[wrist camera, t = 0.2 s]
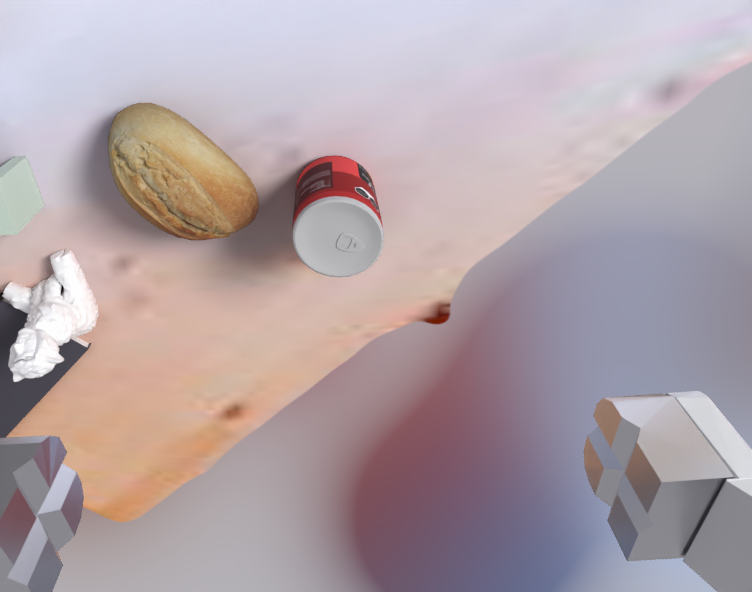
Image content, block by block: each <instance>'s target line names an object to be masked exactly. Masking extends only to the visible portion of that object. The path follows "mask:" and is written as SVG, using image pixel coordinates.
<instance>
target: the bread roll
mask: <svg viewBox="0 0 752 592" xmlns="http://www.w3.org/2000/svg"><path fill="white" fill-rule="evenodd" d="M108 153H109V162H110V167H111V171H112V175H113V178H114V181H115V184H116V186H117V188H118V190H119V191H120V193H121V194H122V196H123V197H124V198H125V200H126V201H127V202H128V203H129V205H130V206H131V207H132V208H133V209H134V210H136V211H137V212H138V213H139V214H140V215H141V216H142V217H143V218H145V219H146V220H147V221H149V222H150V223H151V224H153V225H154V226H156V227H158V228H159V229H161V230H163V231H165V232H167V233H169V234H172V235H174V236H176V237H179V238H184V239H189V240H207V239H213V238H224V237H228V236H229V235H230V234H231V233H234V232H236V231H238V230H240V229H242V228H244V227H246V226H247V225H249V224H250V223H251V222H252V221H253V220H254V219H255V217H256V214H257V212H258V195H257V192H256V189H255V187H254V185H253V183H252V181H251V180H250V178H249V177H248V176H247V175H246V173H245V172H244V171H243V170H242V169H241V168H240V167H239V166H238V165H237V164H236V163H235V162H234V161H233V160H232V159H231V158H230V157H229V156H228V155H227V154H226V153H225V152H224V151H223V150H221V149H220V148H219V147H218V146H216V145H215V144H214V143H213V142H212V141H211V140H210V139H209V138H208V137H207V136H205V135H204V134H203V133H202V132H201V131H199V130H198V129H197V128H196V127H194V126H193V125H192V124H191V123H189V122H188V121H187V120H185V119H184V118H182V117H181V116H179V115H178V114H176V113H174V112H173V111H171V110H169V109H166V108H164V107H161V106H158V105H156V104H153V103H137V104H134V105H131V106H129V107H127V108H125V109H123V110H122V111H120V112H119V113H118V114H117V115H116V116H115V118H114V120H113V123H112V126H111V129H110V133H109V137H108Z"/></svg>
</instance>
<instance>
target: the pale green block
mask: <svg viewBox="0 0 752 592" xmlns="http://www.w3.org/2000/svg"><path fill="white" fill-rule="evenodd" d="M43 207H44V202H43V199H42V197H41V194H40V191H39V188H38V186H37V183H36V180H35V177H34V175H33V172H32V169H31V167H30V164H29V161H28V158H27V156H25V157H13V158H11V159H10V160H9V161H8V162H6V163H5V164H4V165H3V166H1V167H0V235H17V234H18V233H19V232H20V231H21V230H22V229H23V228H24V227H25V225H26V224H27V223H28V222H29V221H30V220H31V219H32V218H33V217H34V216H35V215H36V214H37V213H38V212H39V211H40V210H41V209H42V208H43Z"/></svg>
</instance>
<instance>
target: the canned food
mask: <svg viewBox="0 0 752 592" xmlns="http://www.w3.org/2000/svg"><path fill="white" fill-rule="evenodd" d="M292 238H293V244H294V248H295V250H296V253H297V255H298V256H299V258H300V259H301V260H302V262H303V263H304V264H306V265H307V266H308V267H309V268H311V269H312V270H314V271H315V272H318V273H320V274H323V275H326V276H331V277H348V276H352V275H356V274H358V273H361V272H363V271H365V270H366V269H368V268H369V267H370V266H371V265H372V264H373V263H374V262H375V261H376V260H377V259H378V257H379V255H380V253H381V251H382V248H383V242H384V233H383V226H382V220H381V216H380V211H379V207H378V202H377V198H376V193H375V189H374V185H373V182H372V179H371V177H370V175H369V174H368V172H367V171H366V170H365V169H364V168H363V167H362V166H361V165H359V164H358V163H357V162H355V161H353V160H351V159H349V158H346V157H342V156H326V157H322V158H319V159H317V160H315V161H313V162H312V163H310V164H309V165H308V166H307V167H306V168H305V169H304V170H303V171H302V173H301V174H300V176H299V178H298V181H297V185H296V195H295V205H294V216H293V232H292Z"/></svg>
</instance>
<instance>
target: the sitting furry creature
mask: <svg viewBox="0 0 752 592" xmlns="http://www.w3.org/2000/svg"><path fill="white" fill-rule="evenodd" d="M50 260H51V264H52V269H53V271H54V273H53V274H52V275H51V276H50V277H49V278H48V279H47V280H43V281H42V282H41V281H40V282H39V283H38V285H37V286H35V287H33V288H32V289H31V288H29V287H24V286H22V285H20V284H16V283H14V282H10V283H9V284H8V285H7V287H6V288H5V290H4V292H3V293H4V294H3V295H2V297H4V298H5V299H6V300H8V301H10V303H11V304H12V305H13V307H14V308H16V309H20V310H22V311H24V312H25V313H29V314H28V316H27V322H26V323H25V328H23V329H21V330H20V331H18V337H17V340H16V342H15V343H14V344H13V345H12V346H11V348H10V358H9V363H8V367H9V368H10V370H11V371H12V373H13V381H14V382H18V381H20V380H22V379H24V378H35V377H37V378H38V377H42V376H43V375H45V374H47V373H48V372H50V371H52V370H53V368H54V366H55V365H56V364H57V363H61V362H63V361H64V358H63V357H62V356H61V355H60V354H59V347H58V345H59V346H61V345H63V343H67V342H69V341H70V339H73V338H75V337H77V336H79V335H83V334H86V333H88V332H90V331H92V328H93V327H95V325H96V322H97V318H98V316H99V315H98V312H99V311H98V305H97V303H96V299H95V298H94V294H93V293H92V290H91V289H90V288H89V283H87V282H86V279H85V273H83V270H82V269H81V268H80V267H79V266H80V265H79V264H78V262H77V260H76V258H75V256H74V254H73V253H72V252H71V250H70V249H66V250H65V251H64V250H61V251H58V252H56V253H54V254H53V255H52V256H51V257H50ZM62 286H63V287H64V291H63V292H62V293H61V287H62ZM34 289H35V290H34Z"/></svg>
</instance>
